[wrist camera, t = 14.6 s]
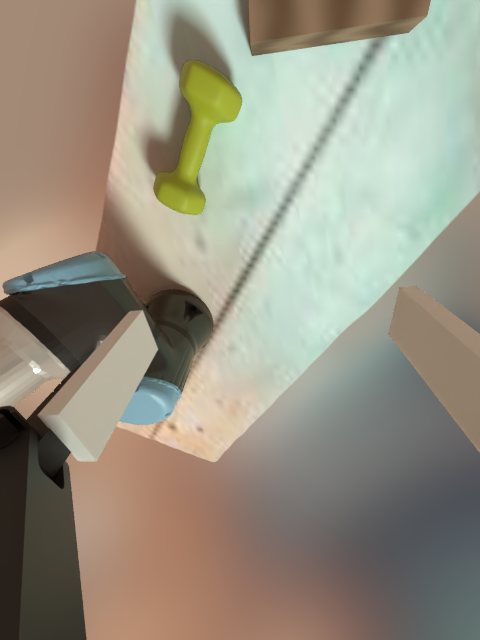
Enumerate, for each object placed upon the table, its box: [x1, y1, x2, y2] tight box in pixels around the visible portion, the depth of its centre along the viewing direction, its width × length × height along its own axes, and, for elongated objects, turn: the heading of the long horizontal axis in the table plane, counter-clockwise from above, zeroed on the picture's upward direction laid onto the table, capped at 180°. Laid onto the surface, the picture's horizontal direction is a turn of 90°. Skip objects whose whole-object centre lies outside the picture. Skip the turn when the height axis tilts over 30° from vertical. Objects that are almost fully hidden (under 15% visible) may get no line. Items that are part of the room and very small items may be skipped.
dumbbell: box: [153, 60, 242, 215], centre depth 33 cm, size 16×8×7 cm, turn 153°
